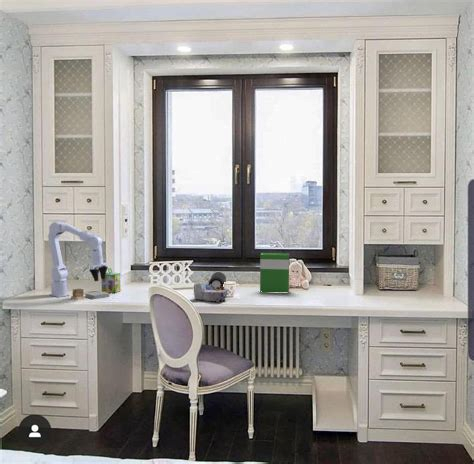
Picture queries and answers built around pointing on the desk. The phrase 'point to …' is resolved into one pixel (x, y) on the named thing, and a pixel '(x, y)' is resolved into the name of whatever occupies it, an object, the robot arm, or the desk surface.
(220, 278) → the portable speaker
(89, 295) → the dock
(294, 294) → the desk surface
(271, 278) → the hardback book
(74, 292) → the tan cardboard carton
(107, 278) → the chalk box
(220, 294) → the cell model
